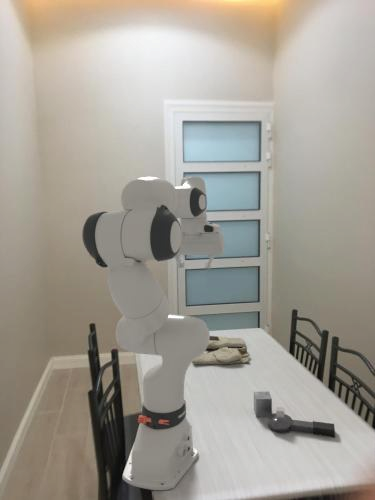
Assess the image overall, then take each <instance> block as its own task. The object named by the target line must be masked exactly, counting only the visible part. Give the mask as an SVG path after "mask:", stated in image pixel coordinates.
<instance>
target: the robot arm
mask: <svg viewBox="0 0 375 500" xmlns="http://www.w3.org/2000/svg"><path fill="white" fill-rule="evenodd" d="M120 201H121V202H120V203H121V206H122V208H123V210H114V211H106V210H105V211H100V212H96V213H92V214H91V215H89V216H88V217H87V219H85V222H84V224H83V227H82V233H81V236H82V238H81V239H82V242H83V245H84V248H85V249H86V251H87V253H88V254H89V256H90V257H92V259H94V261H95V263H96V264H97V265H98V266H99V267H101V268H108V274H107V278H106V281H107V283H106V284H107V287H108V290H109V291H108V292H109V294H110V296H111V298H112V300H113V301H112V302H113V303H114V304H115V306H116V308H117V309H118V311H119V313H120V314H121V316H122V317H121V318H120V319H119V321H118V322H117V325H116V327H115V328H116V329H115V339H116V342H117V345H118V346H119V348H121V349H122V350H124V351H127V352H131V353H135V354H138V355H139V354H140V355H151V356H159V357H161V360H162V362H161V363H158V364H156V365H154V366H152V367H150V369H148V370H147V371H146V372H145V374H144V376H143V379H142V386H143V387H142V388H143V402H142V406H141V412H140V413H141V414H140V415H138V419H137V423H138V424H139V425H138V428H137V431H136V436H135V440H134V442H133V445H132V447H131V450H130V452H129V456H128V459H127V461H126V464H125V467H124V470H123V473H122V477H121V478H122V481H124V482H125V483H126V484H129V485H130V486H133V487H137V488H141V489H145V490H151V491H152V490H153V491H167V490H171V489H174V488H175V487H176V486H177V485H178V483H179V482H180V481H181V479H182V478H183V477H184V476H185V475H186V473H187V472H188V470H189V469H190V468H191V467H192V465H193V464H194V462H195V461H196V460H197V458H199V455H200V454H199V450H197V449H196V448H195V447H194V441H193V440H194V439H193V429H192V424H191V423H190V422H189V420H188V418H187V417H186V416H187V404H186V400H185V380H186V379H185V378H186V374H187V371H188V369H189V368H190V365H192V364H193V361H194V360H195V359H196V358H197V357H199V356H201V355H202V354H203V353H206V351H207V350H208V349H207V347H208V344H209V339H210V336H211V335H210V329H209V328H208V325H207V324H206V321H204V320H203V319H201V318H198V317H194V316H190V315H187V314H186V315H185V314H172V313H171V314H170V311H171V308H170V307H171V305H170V302H169V300H168V297H167V296H166V294H165V291H164V290H163V288H162V286H161V284H160V282H159V280H158V279H157V278H156V276H155V275H154V273H153V272H152V271H151V269H150V268H149V267H148V266H147V262H151V261H157V262H163V261H169V260H172V259H175V261H176V262H177V264H178V265H177V268H178V269H182V268H184V267H185V266H184V264H185V262H184V261H182V260H181V257H182V256H181V255H183V256H185V255H186V256H188V255H190V256H208V259H209V261H208V262H206V263H205V267H204V268H205V269H207V270H210V269H211V268H212V262H213V261H214V259H215V256H223V254H225V240H224V236H223V234H222V232H221V231H222V227H221V225H220V224H217V223H213V222H211V221H208V216H207V211H206V210H207V205H208V204H207V203H208V200H207V188H206V184H205V180H204V179H203V178H201V177H199V176H185V177H183V178H182V179H181V182H180V186H175V185H174V184H173V183H171V182H170V181H169V180H166V179H163V178H159V177H156V176H144V177H138V178H134V179H132V180H130V181H129V182H128V183H126V184H125V186H124V187H123V189H122V190H121V196H120ZM178 219H179V220H180V221H179V220H178Z"/></svg>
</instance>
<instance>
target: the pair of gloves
mask: <svg viewBox="0 0 375 500" xmlns="http://www.w3.org/2000/svg"><path fill="white" fill-rule="evenodd" d="M228 347H229V348H228ZM237 347H244V348H237ZM217 348H219V349H217ZM208 349H209V350H212V351H210V352H204V353H203V354H202V355H201V356H199V357H197V358H196V359H195V360H194V361H193V362H192V364H193V365H195V366H196V365H203V366H204V365H230V364H245V363H250V360H251V359H250V355H251V354H250V352H248V348H247V345H246V342H245V340H244V338H243V337H228V336H219V335H210V339H209V344H208V347H207V349H206V350H208ZM213 350H214V351H213Z"/></svg>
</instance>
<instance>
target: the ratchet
mask: <svg viewBox="0 0 375 500" xmlns="http://www.w3.org/2000/svg"><path fill="white" fill-rule="evenodd" d="M275 410H276V412H275V413H272V414H271V415H270V416H269V417H268V428H269V430H270V431H271V432H274V433H277V434H288V433H290V432H296V433H303V434H304V433H305V434H311V435H314V436H324V437H331V438H335V437H336V436H335V435H336V433H335V432H336V429H335V428H336V427H335V423H329V422H321V421H315V420H314V421H306V420H298V419H292V417H291V416H289V415H288V414H286V413H285V407H280V406H276V409H275Z"/></svg>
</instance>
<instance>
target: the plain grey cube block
mask: <svg viewBox="0 0 375 500" xmlns="http://www.w3.org/2000/svg"><path fill="white" fill-rule="evenodd" d="M272 398H273V397H272V396H271V394H270V391H253V411H254V414H255V417H257V418H269V416H270V415H271V414H273V411H272V409H273V402H272V401H273V399H272Z"/></svg>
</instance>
